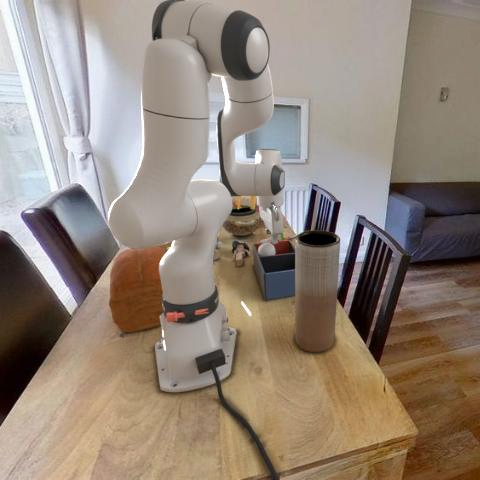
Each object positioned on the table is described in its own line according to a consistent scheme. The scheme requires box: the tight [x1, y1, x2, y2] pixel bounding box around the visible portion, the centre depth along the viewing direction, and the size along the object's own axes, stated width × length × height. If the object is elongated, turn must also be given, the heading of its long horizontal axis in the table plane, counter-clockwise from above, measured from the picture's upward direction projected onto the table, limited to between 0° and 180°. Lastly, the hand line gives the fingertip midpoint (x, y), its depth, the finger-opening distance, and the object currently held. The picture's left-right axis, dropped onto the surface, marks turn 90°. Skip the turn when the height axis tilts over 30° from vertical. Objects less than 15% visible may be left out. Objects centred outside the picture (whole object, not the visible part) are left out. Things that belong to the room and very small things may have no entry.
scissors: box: [284, 233, 299, 240], centre depth 139 cm, size 8×21×2 cm, turn 154°
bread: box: [108, 246, 167, 333], centre depth 88 cm, size 16×27×16 cm, turn 29°
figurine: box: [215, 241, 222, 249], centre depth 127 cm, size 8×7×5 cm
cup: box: [257, 232, 285, 243], centre depth 126 cm, size 8×8×15 cm
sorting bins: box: [251, 239, 295, 301], centre depth 105 cm, size 24×14×9 cm, turn 19°
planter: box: [294, 229, 341, 353], centre depth 73 cm, size 10×10×28 cm
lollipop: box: [258, 243, 275, 257], centre depth 109 cm, size 6×6×15 cm
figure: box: [231, 196, 257, 209], centre depth 136 cm, size 17×18×9 cm
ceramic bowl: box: [221, 207, 263, 240], centre depth 140 cm, size 24×18×15 cm
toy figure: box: [231, 240, 252, 267], centre depth 120 cm, size 7×6×15 cm
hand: (271, 238), depth 107 cm, fingers open, 8 cm apart
